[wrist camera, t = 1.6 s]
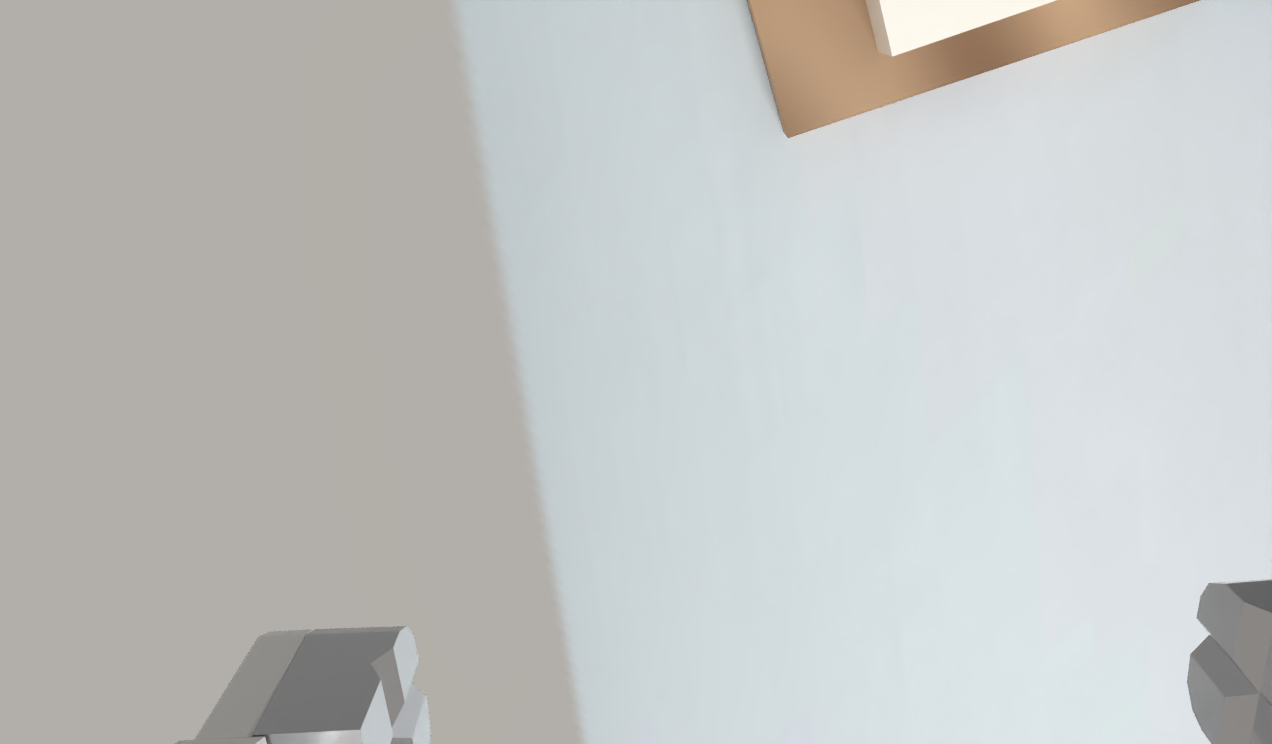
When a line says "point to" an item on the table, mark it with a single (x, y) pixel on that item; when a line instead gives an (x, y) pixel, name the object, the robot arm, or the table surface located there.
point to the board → (867, 79)
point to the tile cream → (934, 19)
